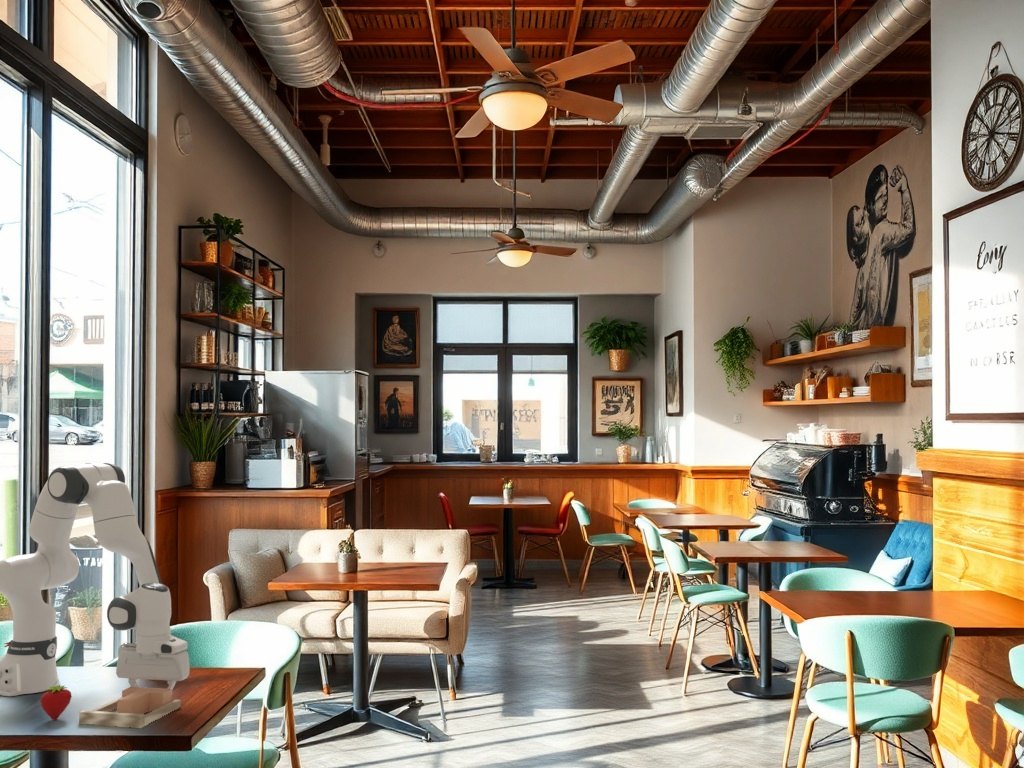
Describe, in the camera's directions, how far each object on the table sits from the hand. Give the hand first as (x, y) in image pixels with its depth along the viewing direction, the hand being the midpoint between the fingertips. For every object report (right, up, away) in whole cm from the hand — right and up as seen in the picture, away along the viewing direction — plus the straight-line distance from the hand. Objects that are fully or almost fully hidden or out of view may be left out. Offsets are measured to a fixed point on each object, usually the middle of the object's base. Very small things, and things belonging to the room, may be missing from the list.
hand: (152, 695), depth 244 cm
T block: (-1, -2, -7) cm, 7 cm away
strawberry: (-20, -2, -13) cm, 24 cm away
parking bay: (-2, -2, -8) cm, 8 cm away
